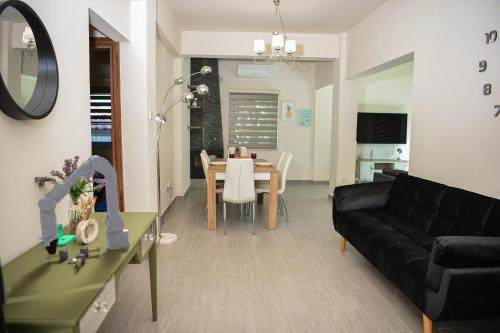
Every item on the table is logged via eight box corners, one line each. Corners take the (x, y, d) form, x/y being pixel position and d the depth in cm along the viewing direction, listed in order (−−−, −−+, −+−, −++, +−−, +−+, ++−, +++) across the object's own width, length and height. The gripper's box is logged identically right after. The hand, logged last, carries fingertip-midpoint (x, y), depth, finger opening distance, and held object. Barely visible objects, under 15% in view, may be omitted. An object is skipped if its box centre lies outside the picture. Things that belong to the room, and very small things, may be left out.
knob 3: (80, 258, 143) (79, 250, 142) (81, 255, 146) (80, 247, 145) (100, 255, 145) (99, 247, 145) (100, 252, 148) (99, 244, 148)
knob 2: (77, 262, 138) (76, 254, 138) (85, 261, 139) (85, 253, 139) (74, 270, 131) (73, 261, 130) (83, 268, 132) (82, 260, 131)
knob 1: (67, 256, 145) (67, 248, 144) (68, 259, 142) (67, 250, 142) (46, 261, 141) (45, 252, 140) (46, 263, 138) (46, 255, 137)
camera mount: (65, 248, 158) (62, 227, 157) (48, 249, 158) (46, 228, 156) (77, 240, 170) (75, 220, 169) (61, 240, 170) (59, 220, 168)
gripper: (42, 221, 144) (45, 252, 146) (33, 232, 131) (36, 265, 133) (60, 219, 147) (63, 249, 149) (53, 230, 133) (57, 262, 135)
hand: (52, 257), depth 141 cm, fingers closed, pressing on knob 1
